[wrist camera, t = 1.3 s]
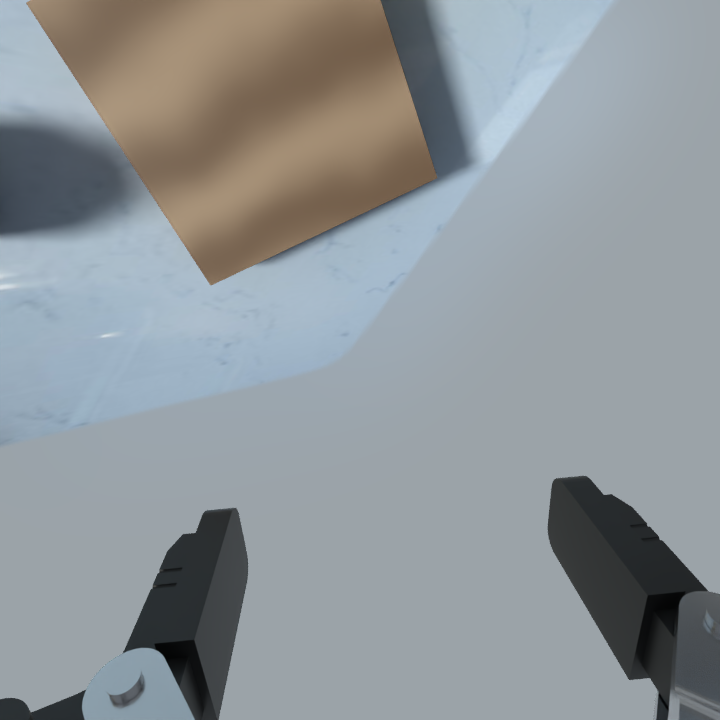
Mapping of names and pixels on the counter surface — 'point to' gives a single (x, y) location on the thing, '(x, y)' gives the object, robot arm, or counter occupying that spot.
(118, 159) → the counter surface
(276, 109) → the walnut block
